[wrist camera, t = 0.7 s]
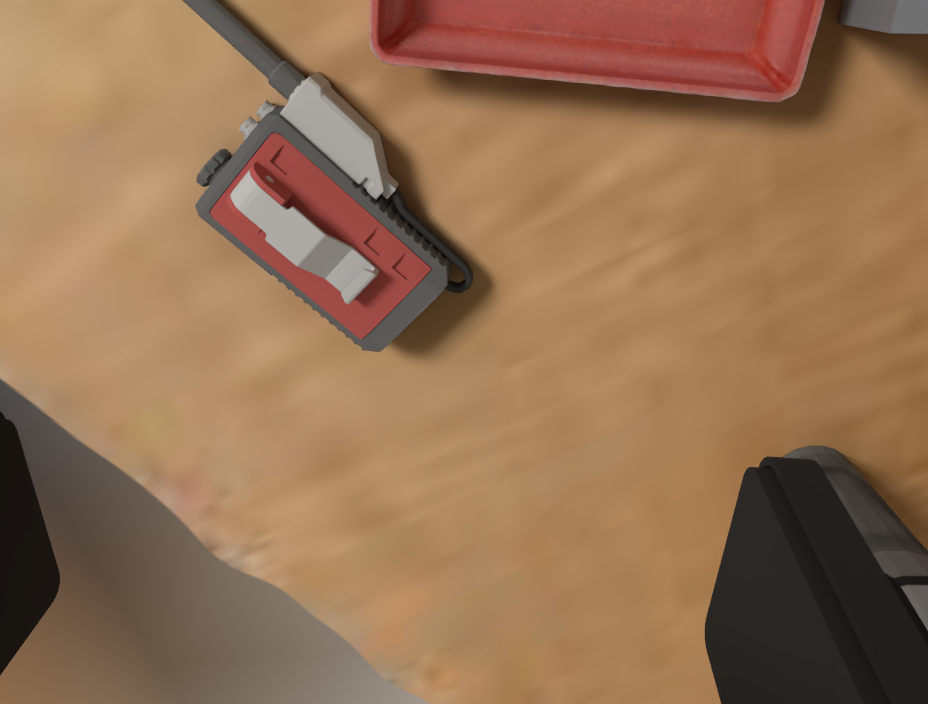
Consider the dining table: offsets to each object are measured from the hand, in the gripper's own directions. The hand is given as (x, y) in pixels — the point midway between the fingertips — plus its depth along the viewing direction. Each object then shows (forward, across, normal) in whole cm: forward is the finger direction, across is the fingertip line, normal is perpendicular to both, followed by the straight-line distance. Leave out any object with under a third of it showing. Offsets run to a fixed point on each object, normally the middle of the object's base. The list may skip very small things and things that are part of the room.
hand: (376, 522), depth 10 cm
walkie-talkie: (+29, +9, +3) cm, 30 cm away
